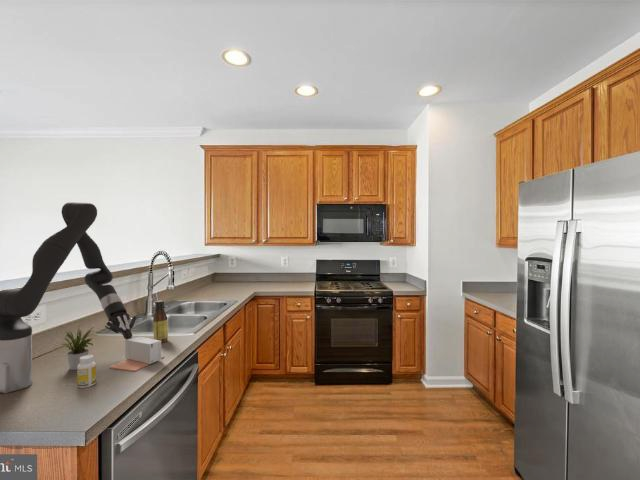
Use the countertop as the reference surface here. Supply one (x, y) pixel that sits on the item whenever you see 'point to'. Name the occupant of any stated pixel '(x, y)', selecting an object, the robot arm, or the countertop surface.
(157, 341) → the skincare box
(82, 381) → the supplement bottle
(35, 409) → the countertop surface
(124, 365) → the plate
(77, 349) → the house plant
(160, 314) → the sauce bottle
